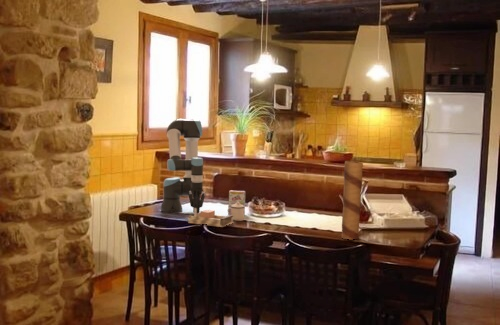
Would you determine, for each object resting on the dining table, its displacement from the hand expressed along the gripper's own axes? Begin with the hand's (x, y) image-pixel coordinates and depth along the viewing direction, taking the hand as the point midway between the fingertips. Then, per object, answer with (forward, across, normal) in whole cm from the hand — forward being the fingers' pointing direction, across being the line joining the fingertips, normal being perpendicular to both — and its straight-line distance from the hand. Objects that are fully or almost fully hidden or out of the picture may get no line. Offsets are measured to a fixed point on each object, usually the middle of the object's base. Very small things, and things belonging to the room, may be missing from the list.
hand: (196, 217), depth 371 cm
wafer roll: (+3, +100, +6) cm, 100 cm away
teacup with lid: (+2, +18, +20) cm, 27 cm away
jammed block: (+1, +8, 0) cm, 8 cm away
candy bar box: (+2, +11, +35) cm, 37 cm away
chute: (+2, +11, 0) cm, 11 cm away
